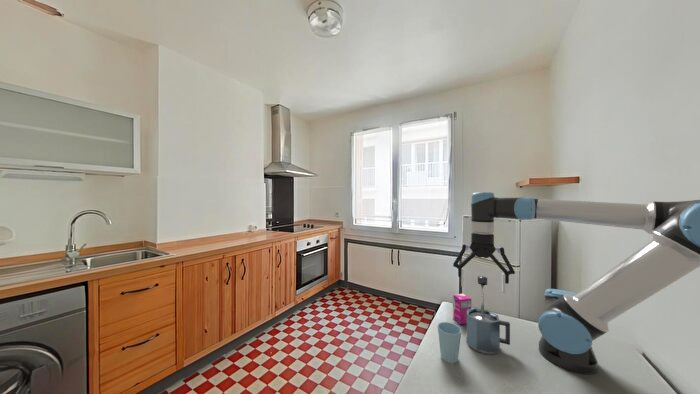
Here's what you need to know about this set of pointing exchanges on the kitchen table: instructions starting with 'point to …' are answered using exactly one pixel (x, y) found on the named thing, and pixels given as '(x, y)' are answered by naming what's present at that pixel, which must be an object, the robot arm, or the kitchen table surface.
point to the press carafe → (486, 333)
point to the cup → (449, 341)
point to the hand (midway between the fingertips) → (482, 288)
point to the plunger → (482, 303)
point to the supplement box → (461, 308)
